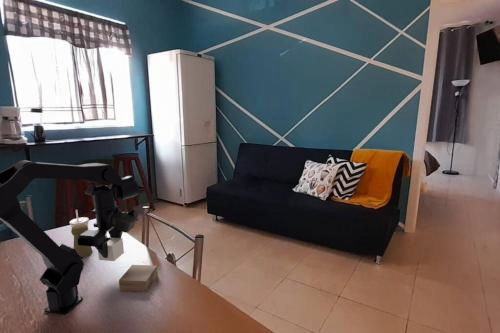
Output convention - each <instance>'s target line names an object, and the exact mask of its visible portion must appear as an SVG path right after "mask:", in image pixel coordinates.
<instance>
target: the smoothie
mask: <svg viewBox="0 0 500 333" xmlns="http://www.w3.org/2000/svg"><path fill="white" fill-rule="evenodd" d="M75 216H76V218H73V219H71V220H70V221H69V225H70V226H71V228H72V227H74V226H75V225H79V224H85V225H87V226H88V227H89V222H90V219H89V217H87V216H86V217H85V216H83V217H79V213H78V209H75Z"/></svg>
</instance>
